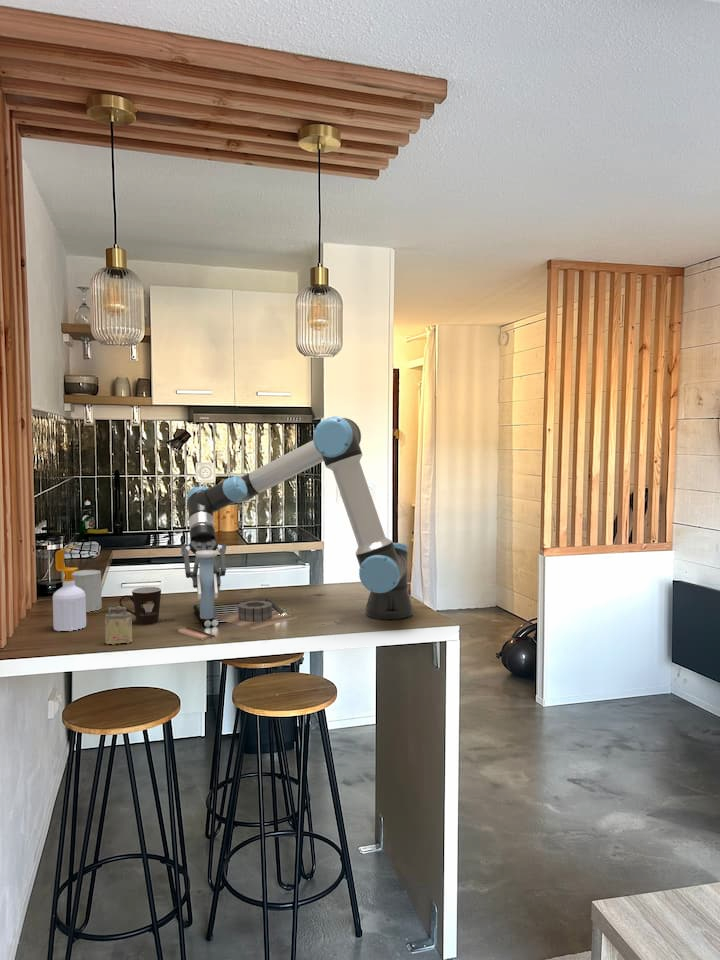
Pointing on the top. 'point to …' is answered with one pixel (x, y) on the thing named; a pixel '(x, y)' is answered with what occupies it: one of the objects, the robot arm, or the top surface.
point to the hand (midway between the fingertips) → (207, 595)
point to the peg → (206, 582)
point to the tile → (195, 633)
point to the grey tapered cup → (90, 587)
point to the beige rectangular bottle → (118, 626)
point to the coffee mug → (145, 604)
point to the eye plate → (254, 624)
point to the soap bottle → (68, 599)
